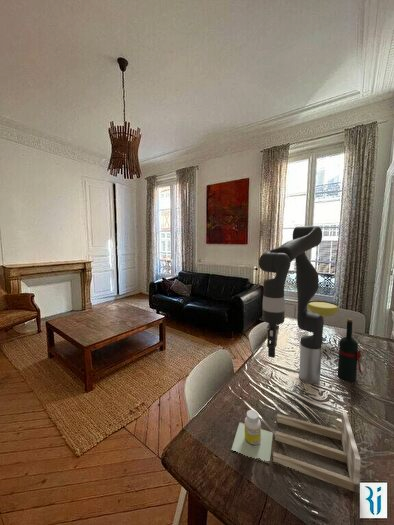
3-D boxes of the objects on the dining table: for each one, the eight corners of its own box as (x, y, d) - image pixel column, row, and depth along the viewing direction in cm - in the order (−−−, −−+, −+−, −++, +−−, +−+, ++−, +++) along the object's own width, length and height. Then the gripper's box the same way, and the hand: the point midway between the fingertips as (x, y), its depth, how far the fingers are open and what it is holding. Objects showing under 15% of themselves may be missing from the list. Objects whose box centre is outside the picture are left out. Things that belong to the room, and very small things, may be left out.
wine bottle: (358, 387, 104) (362, 324, 101) (334, 376, 112) (337, 318, 109) (364, 380, 108) (368, 320, 105) (341, 371, 116) (343, 315, 114)
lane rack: (277, 419, 86) (277, 395, 85) (344, 438, 77) (346, 412, 76) (273, 462, 69) (273, 432, 68) (358, 493, 61) (360, 459, 60)
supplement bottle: (248, 431, 80) (249, 405, 79) (263, 439, 77) (263, 413, 76) (241, 441, 76) (241, 415, 75) (256, 451, 73) (256, 423, 72)
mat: (239, 423, 84) (239, 422, 84) (272, 433, 80) (272, 432, 80) (231, 450, 73) (231, 449, 73) (269, 464, 69) (269, 463, 69)
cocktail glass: (307, 332, 165) (308, 299, 162) (336, 337, 156) (338, 302, 153) (305, 342, 149) (306, 305, 147) (337, 348, 140) (338, 309, 138)
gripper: (283, 315, 72) (282, 363, 74) (285, 303, 85) (284, 344, 87) (259, 313, 75) (259, 358, 77) (264, 302, 88) (264, 341, 90)
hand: (272, 351), depth 82 cm, fingers open, 8 cm apart
